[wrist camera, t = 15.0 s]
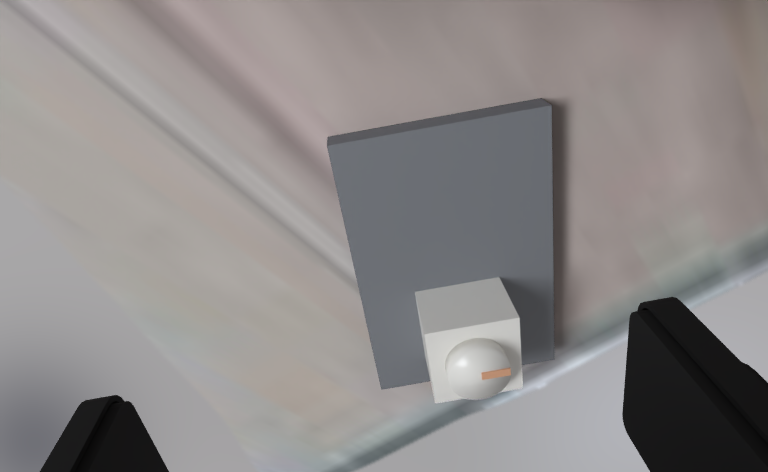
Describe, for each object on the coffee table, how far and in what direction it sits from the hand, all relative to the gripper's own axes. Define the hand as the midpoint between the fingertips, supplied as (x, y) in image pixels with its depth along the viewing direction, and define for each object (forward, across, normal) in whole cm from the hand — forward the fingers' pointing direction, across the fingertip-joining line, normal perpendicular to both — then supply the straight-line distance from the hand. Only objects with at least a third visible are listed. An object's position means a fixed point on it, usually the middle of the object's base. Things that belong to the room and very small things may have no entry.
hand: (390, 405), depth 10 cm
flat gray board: (+28, -5, +14) cm, 32 cm away
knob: (+26, -5, +19) cm, 33 cm away
